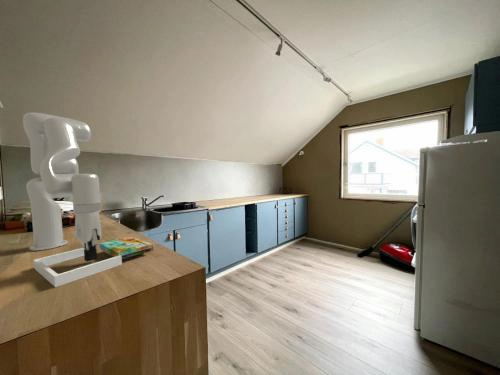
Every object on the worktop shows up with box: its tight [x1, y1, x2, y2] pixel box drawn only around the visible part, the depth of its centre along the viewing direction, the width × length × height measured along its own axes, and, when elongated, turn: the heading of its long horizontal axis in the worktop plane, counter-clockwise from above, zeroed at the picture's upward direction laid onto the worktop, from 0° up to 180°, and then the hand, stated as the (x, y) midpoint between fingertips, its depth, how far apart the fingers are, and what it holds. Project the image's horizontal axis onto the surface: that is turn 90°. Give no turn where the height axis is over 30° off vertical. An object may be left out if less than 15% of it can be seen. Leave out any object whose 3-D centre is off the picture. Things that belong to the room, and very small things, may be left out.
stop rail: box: [146, 244, 154, 252], centre depth 87 cm, size 16×1×2 cm, turn 56°
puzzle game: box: [98, 236, 153, 260], centre depth 81 cm, size 12×5×20 cm
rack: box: [33, 247, 123, 288], centre depth 70 cm, size 24×17×3 cm
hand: (90, 259), depth 73 cm, fingers closed
